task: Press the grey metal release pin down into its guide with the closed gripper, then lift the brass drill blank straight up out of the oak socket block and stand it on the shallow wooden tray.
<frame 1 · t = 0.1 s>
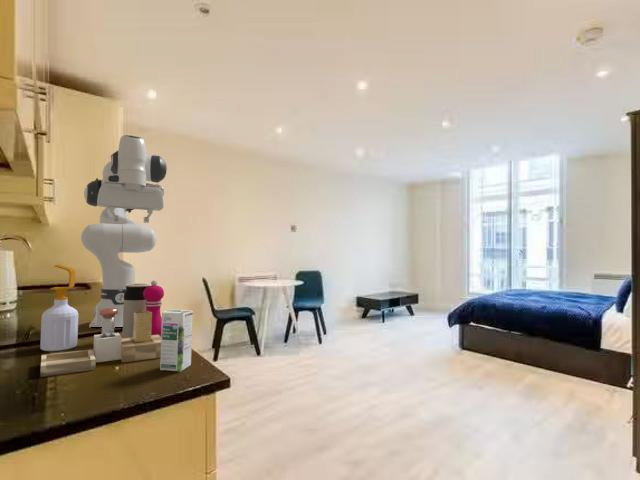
hand: (131, 221, 130), 39 cm above the worktop, tool pointing down, fingers open, 8 cm apart
travel mug: (135, 339, 127), on the worktop
pepper mill: (152, 344, 120), on the worktop
pin guide: (106, 358, 104), on the worktop
socket: (141, 354, 109), on the worktop
release pin: (108, 326, 105), point 9 cm above the worktop, slide at 0.0 cm
syrup box: (175, 368, 97), on the worktop
soap bottle: (59, 348, 114), on the worktop
shallow wooden tray: (67, 367, 96), on the worktop
drill blank: (142, 333, 109), in the socket
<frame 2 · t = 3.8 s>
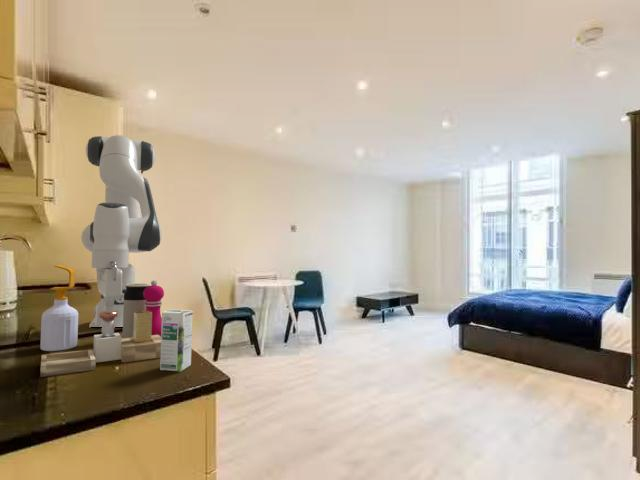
hand: (108, 312, 105), 12 cm above the worktop, tool pointing down, fingers closed, pressing on release pin
release pin: (108, 329, 105), point 8 cm above the worktop, slide at 0.8 cm, touching gripper
everything else where it was.
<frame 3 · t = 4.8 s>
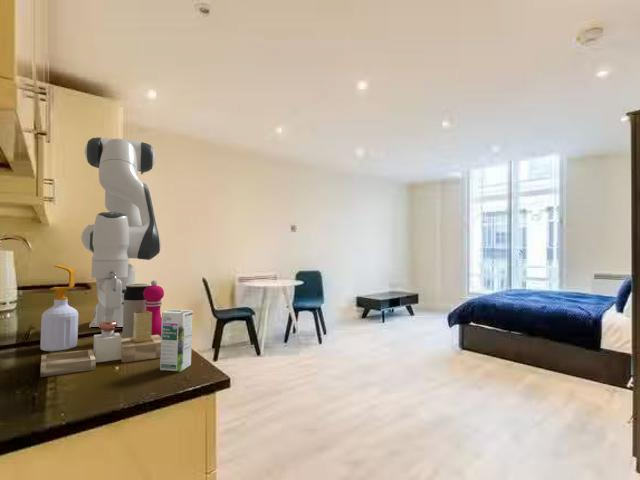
hand: (108, 321, 105), 10 cm above the worktop, tool pointing down, fingers closed
release pin: (107, 339, 105), point 5 cm above the worktop, slide at 3.6 cm
everything else where it was.
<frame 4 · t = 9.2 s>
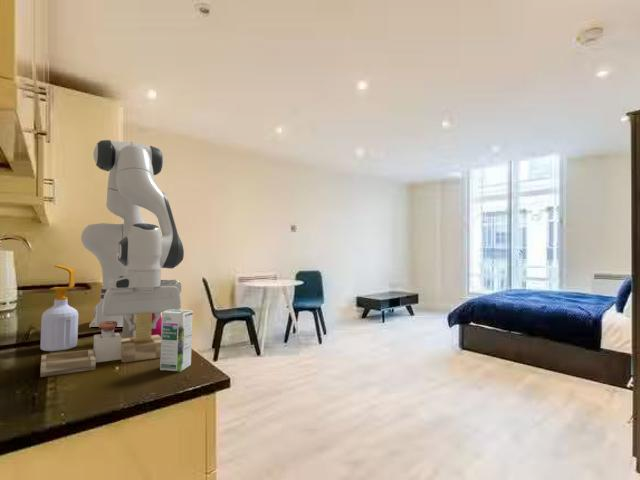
hand: (142, 329, 109), 7 cm above the worktop, tool pointing down, fingers closed on drill blank, 4 cm apart
drill blank: (142, 333, 109), in the socket, touching gripper
everything else where it was.
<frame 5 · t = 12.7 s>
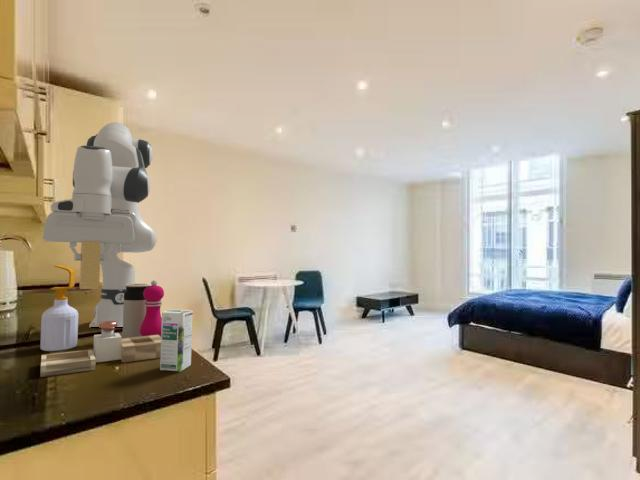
hand: (90, 260, 99), 27 cm above the worktop, tool pointing down, fingers closed on drill blank, 4 cm apart
drill blank: (90, 265, 99), point 26 cm above the worktop, touching gripper
everything else where it was.
when the fingers open (10 cm above the worktop, at t = 16.6 s): drill blank drops 1 cm, resting on shallow wooden tray.
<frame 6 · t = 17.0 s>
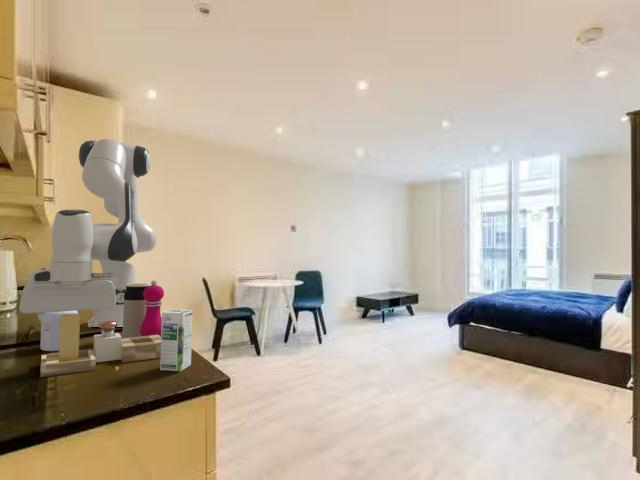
hand: (69, 328, 96), 10 cm above the worktop, tool pointing down, fingers open, 8 cm apart
drill blank: (69, 339, 96), in the shallow wooden tray, point 7 cm above the worktop
everything else where it was.
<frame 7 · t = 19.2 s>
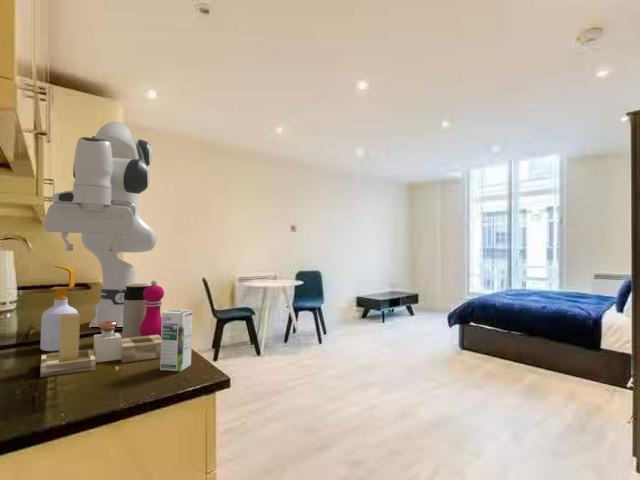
hand: (90, 251, 101), 29 cm above the worktop, tool pointing down, fingers open, 8 cm apart
nothing on the worktop moved.
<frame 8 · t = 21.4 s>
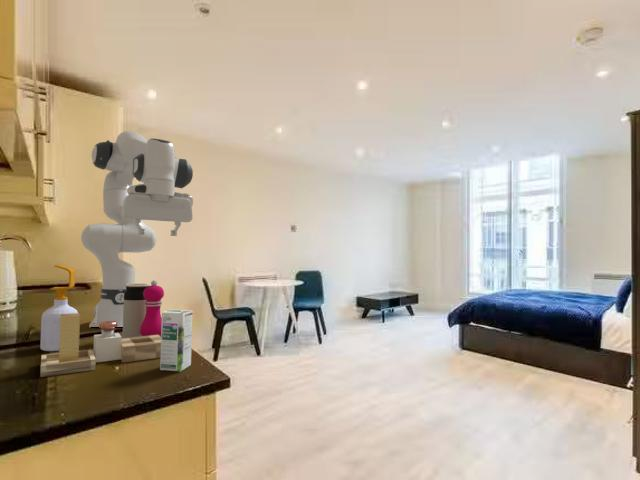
hand: (157, 235, 119), 34 cm above the worktop, tool pointing down, fingers open, 8 cm apart
nothing on the worktop moved.
at the end: release pin slide at 3.6 cm; drill blank inside the target area on the shallow wooden tray (0.1 cm from its centre), point 7.0 cm above the shallow wooden tray's base; drill blank tilted 0° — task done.
